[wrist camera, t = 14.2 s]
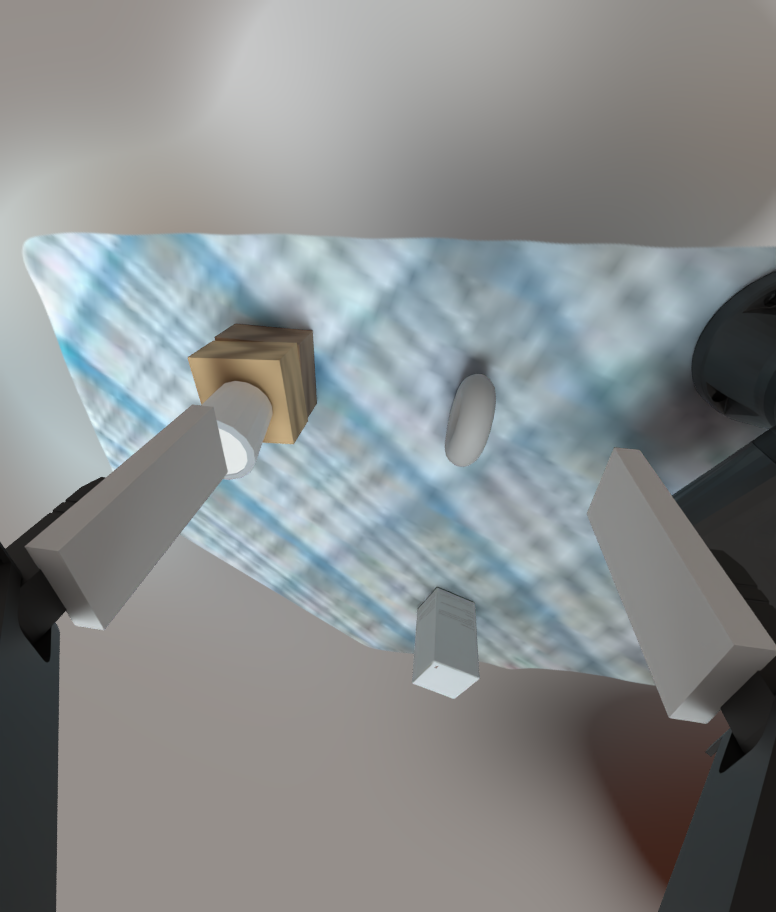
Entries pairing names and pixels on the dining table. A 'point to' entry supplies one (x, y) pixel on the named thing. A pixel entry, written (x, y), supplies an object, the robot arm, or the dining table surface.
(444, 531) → the dining table surface
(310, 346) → the walnut block
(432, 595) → the supplement box
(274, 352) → the oak block
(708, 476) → the robot arm
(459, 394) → the donut
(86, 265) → the dining table surface
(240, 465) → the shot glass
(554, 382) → the dining table surface
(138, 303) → the dining table surface
